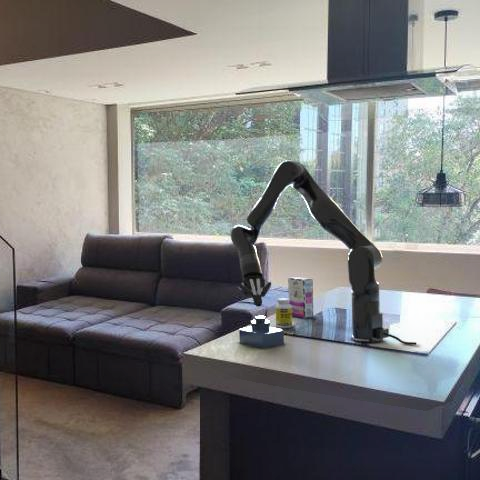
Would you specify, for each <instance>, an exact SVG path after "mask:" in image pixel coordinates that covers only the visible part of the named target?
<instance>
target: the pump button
mask: <svg viewBox="0 0 480 480" xmlns="http://www.w3.org/2000/svg"><path fill="white" fill-rule="evenodd" d="M254 320H255V322H256V323H264V322H265V320H266V316H264V315H258V316H255V317H254Z"/></svg>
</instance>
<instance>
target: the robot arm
mask: <svg viewBox="0 0 480 480" xmlns="http://www.w3.org/2000/svg"><path fill="white" fill-rule="evenodd" d="M289 186H291V187H292V188H293V189H295V190H296V191H297V192H298V193H299V194H300V195H301V197H302V198H303V199H304V201H305V203H306V205H307V208H308V210H309V213H310V214H311V216H312V217H313V219H314V220H315V221H316V222H317V223H318V224H319V226H320V227H321V228H322V229H323V230H325V232H327V233H329V234H330V235H331V236H332V237H334V238H336V239H337V240H338V241H340V242H341V243H342V244H344V245H345V246H346V247H347V249H348V250H349V253H348V256H347V270H348V282H349V285H350V287H351V323H352V324H351V325H352V327H351V328H352V329H351V330H352V335H351V337H352V338H351V339H352V340H353V341H355V342H358V343H359V342H360V343H370V344H373V343H376V342H381V341H384V339H386V338H391V339H394V340H397V341H398V342H399V343H401V344H404V345H410V346H411V345H413V346H416V345H417V342H415V341H405V340H402V339H400V337H397V336H395V335H393V334H390V333H389V332H390V331H389V330H390V329H389V328H388V327H384V324H383V323H384V321H383V316H384V315H383V313H382V312H381V305H380V304H381V303H380V283H379V282H378V281H377V280H376V276H375V270H376V269H378V268H379V267H380V266H381V265H382V263H383V254H382V252H381V250H380V249H379V248H378V247H377V246H376V245H375V244H374V243H373V242H372V241H371V240H370V239H369V238H368V237H366V235H364V234H363V233H362V232H361V231H360V229H358V227H357V226H356V225H355V224H354V223H353V221H352V220H351V219H350V218H349V217H348V216H347V215H346V213H345V212H344V211H343V210H342V209H341V207H339V205H338V204H337V203H336V202H335V201H334V200H333V199H332V198H331V197H330V196H329V194H328V193H327V192H326V191H324V189H323V188H322V187H321V186H320V185H319V184H318V183H317V182H316V181H315V179H314V177H313V176H312V174H311V173H310V171H309V170H308V169H307V167H306V166H305V165H304V164H302V163H301V162H300V161H296V160H284V161H282V162H280V164H279V165H278V166H277V168H276V169H275V171H274V173H273V175H272V177H271V179H270V181H269V182H268V184H267V187H266V188H265V190H264V192H263V193H262V195H261V197H260V198H259V200H258V201H257V202H256V204H255V205H254V206H253V208H252V209H251V210H250V212H249V214H248V215H247V216H246V222H247V223H248V225H250V228H248V227H246V226H243V225H240V224H238V225H235V226H233V227H232V229H231V231H230V240H231V243H232V244H233V246H234V248H235V250H236V251H237V253H238V259H239V267H240V268H239V269H240V271H241V272H240V273H241V277H242V282H241V283H238V286H237V290H238V291H239V292H241V293H242V294H243V295H244V296H245V297H247V298H249V299H251V298H252V301H253V305H254V306H255V307H259V308H261V306H262V304H263V298H265V296H266V295H267V294H268V292H269V291H270V289H271V287H272V282H271V281H266V279H265V278H264V275H263V271H262V266H261V262H260V259H259V257H258V253H257V248H256V246H255V244H256V242H257V241H258V238H259V236H260V233H261V231H262V228H263V226H264V225H265V224H266V222H267V221H268V219H269V218H270V217H271V215H272V214H273V212H274V210H275V207H276V204H277V202H278V199H279V197H281V194H282V193H283V192H284V191H285V190H286V189H287V188H288V187H289ZM263 287H264V288H263ZM262 288H263V290H262Z"/></svg>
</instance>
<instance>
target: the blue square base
mask: <svg viewBox="0 0 480 480" xmlns="http://www.w3.org/2000/svg"><path fill="white" fill-rule="evenodd" d="M238 333H239V335H238V336H239V344H242V345H247V346H249V347H250V346H251V347H254V348H258V349H260V350H261V349H262V350H264V349H268V348H269V349H270V348H273V347H277V346H281V345H285V334H284V333H285V332H284V329H282V328H276V327H271V321H270V320H268V319H265V322H264V323H256V322H255V319H253V320H250V326H247V327H243V328H239V329H238Z"/></svg>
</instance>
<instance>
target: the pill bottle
mask: <svg viewBox="0 0 480 480" xmlns="http://www.w3.org/2000/svg"><path fill="white" fill-rule="evenodd" d="M289 303H290V299H289V297H288V298H287V297H285V298H284V297H281V298H277V304H276V305H275V326H276V327H277V328H278V329H289V328H292V327H293V316H292V306H291V305H290V304H289Z"/></svg>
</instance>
